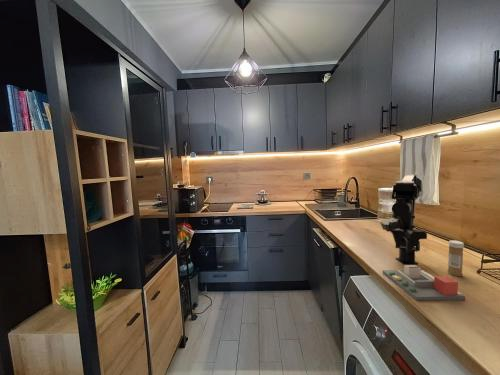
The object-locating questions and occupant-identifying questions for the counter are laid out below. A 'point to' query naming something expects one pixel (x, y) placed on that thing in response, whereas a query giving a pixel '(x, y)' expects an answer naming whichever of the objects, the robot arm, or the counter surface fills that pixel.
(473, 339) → the counter surface
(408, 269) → the panel
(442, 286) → the cap
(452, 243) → the sprinkles bottle
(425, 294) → the breaker panel
